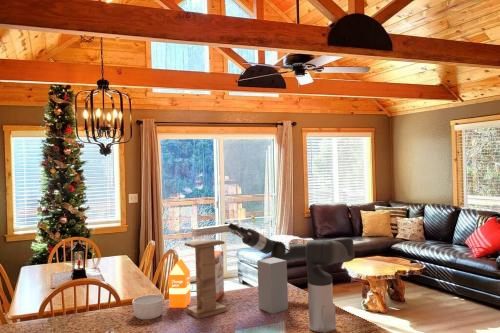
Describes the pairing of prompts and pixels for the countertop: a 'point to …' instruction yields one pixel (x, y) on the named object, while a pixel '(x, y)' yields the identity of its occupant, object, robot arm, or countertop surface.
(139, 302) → the ramekin
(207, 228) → the bar
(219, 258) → the cracker box
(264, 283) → the plinth
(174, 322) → the countertop surface
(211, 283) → the wooden pedestal
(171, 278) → the orange juice
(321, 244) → the robot arm
